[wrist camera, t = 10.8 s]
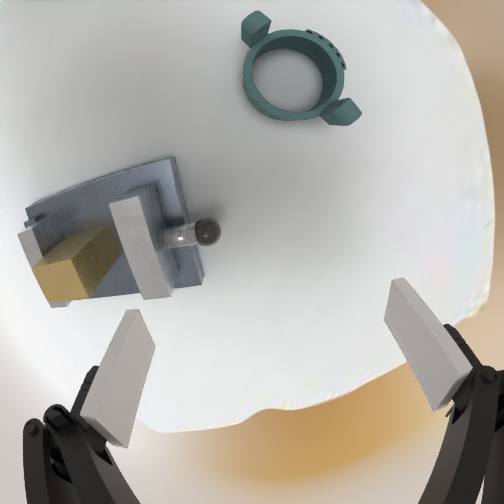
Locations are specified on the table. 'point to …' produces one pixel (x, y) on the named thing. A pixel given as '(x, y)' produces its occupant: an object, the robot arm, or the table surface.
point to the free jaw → (155, 240)
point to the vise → (110, 223)
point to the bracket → (313, 47)
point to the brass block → (76, 265)
